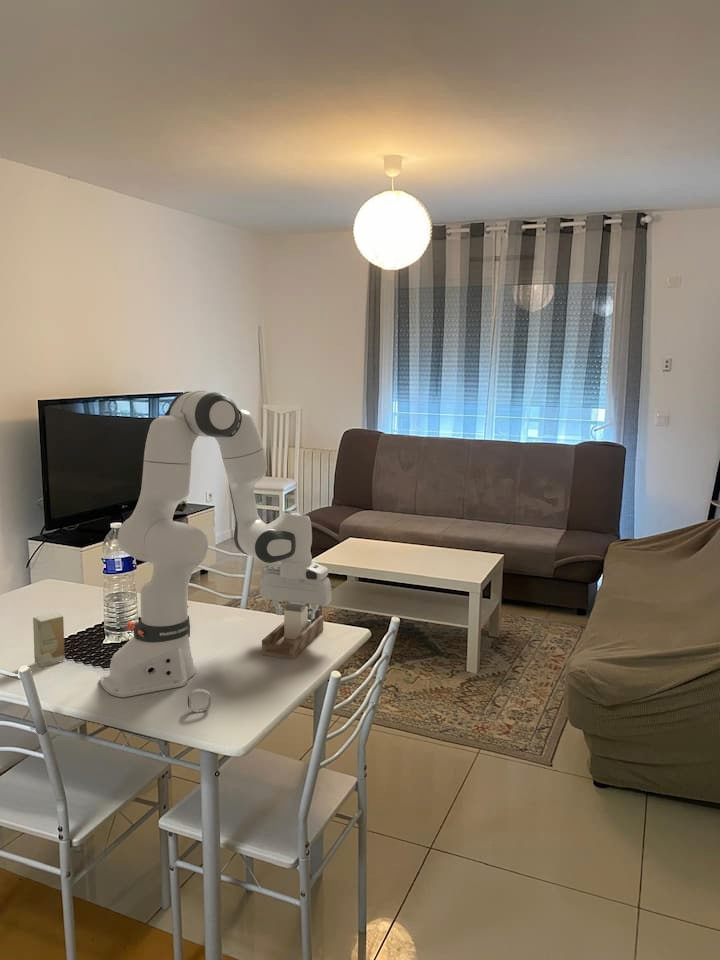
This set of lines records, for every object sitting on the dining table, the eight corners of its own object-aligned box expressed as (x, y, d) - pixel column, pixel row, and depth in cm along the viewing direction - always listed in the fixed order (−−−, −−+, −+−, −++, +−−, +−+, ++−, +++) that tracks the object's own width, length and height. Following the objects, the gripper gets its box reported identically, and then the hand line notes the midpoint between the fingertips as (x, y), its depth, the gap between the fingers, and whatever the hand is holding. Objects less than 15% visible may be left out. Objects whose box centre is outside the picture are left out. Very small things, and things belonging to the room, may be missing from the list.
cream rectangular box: (301, 640, 198) (301, 608, 197) (284, 637, 200) (284, 606, 198) (307, 633, 203) (307, 602, 201) (291, 631, 204) (291, 600, 203)
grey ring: (187, 709, 160) (187, 688, 159) (210, 706, 161) (210, 686, 160) (188, 715, 157) (188, 694, 156) (211, 712, 158) (211, 691, 158)
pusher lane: (293, 659, 188) (293, 637, 187) (261, 654, 190) (261, 633, 189) (323, 629, 209) (323, 609, 209) (294, 625, 212) (294, 605, 211)
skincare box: (41, 668, 180) (38, 621, 178) (34, 663, 183) (31, 617, 181) (66, 660, 185) (64, 615, 183) (58, 656, 188) (56, 611, 186)
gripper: (256, 567, 198) (256, 615, 200) (326, 575, 192) (325, 624, 194) (266, 562, 204) (266, 608, 206) (333, 569, 198) (333, 617, 200)
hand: (295, 616), depth 200 cm, fingers open, 8 cm apart
